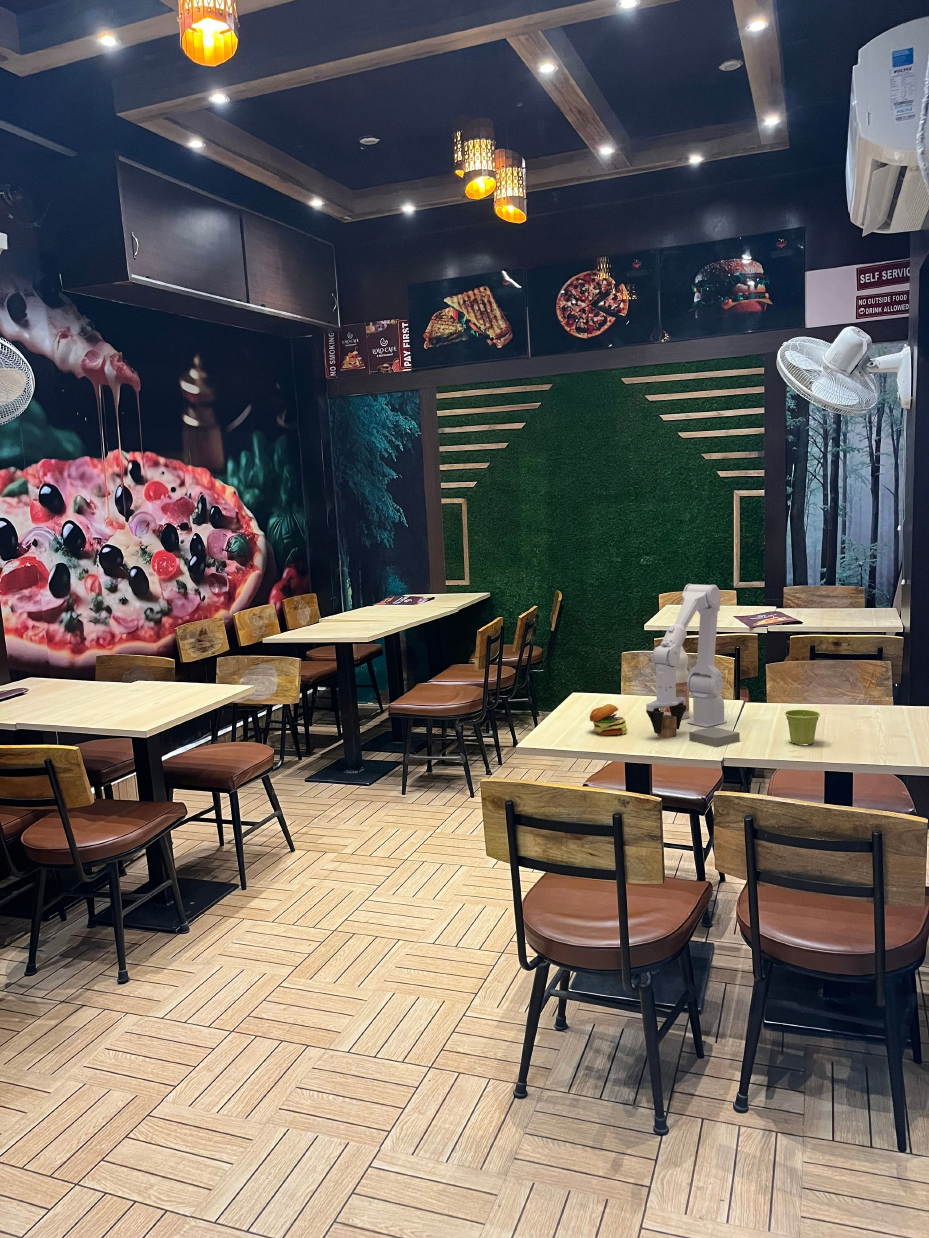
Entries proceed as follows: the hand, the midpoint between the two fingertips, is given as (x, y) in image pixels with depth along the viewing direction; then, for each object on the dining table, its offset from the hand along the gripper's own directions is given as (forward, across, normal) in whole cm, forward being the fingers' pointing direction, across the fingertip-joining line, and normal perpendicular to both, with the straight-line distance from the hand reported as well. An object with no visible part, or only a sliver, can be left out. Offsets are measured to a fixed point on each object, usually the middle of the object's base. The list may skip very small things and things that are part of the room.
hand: (666, 730), depth 269 cm
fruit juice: (+2, +20, +16) cm, 26 cm away
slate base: (+2, +6, -13) cm, 14 cm away
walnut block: (+2, 0, 0) cm, 2 cm away
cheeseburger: (+2, -10, +15) cm, 18 cm away
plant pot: (+2, +22, -31) cm, 38 cm away
